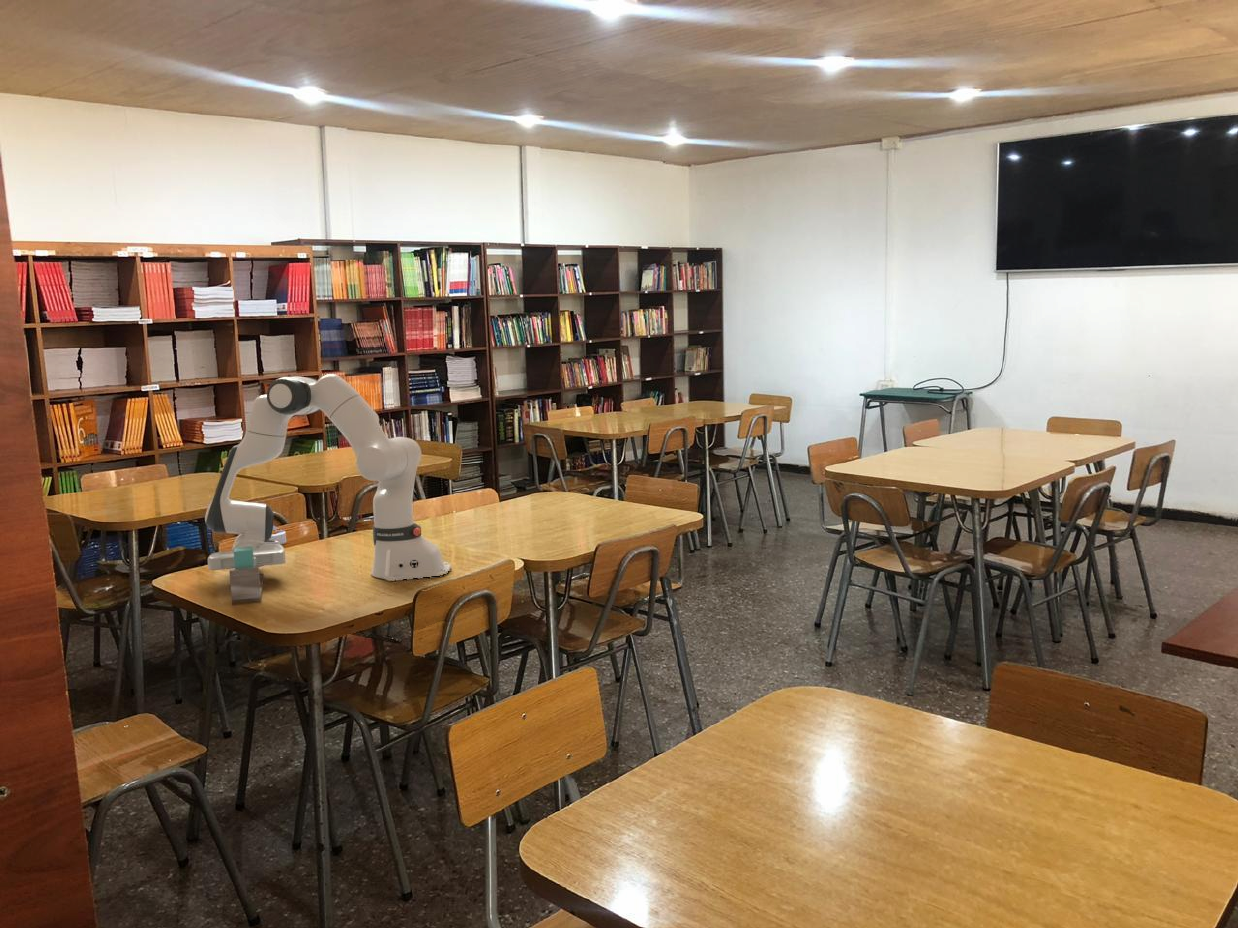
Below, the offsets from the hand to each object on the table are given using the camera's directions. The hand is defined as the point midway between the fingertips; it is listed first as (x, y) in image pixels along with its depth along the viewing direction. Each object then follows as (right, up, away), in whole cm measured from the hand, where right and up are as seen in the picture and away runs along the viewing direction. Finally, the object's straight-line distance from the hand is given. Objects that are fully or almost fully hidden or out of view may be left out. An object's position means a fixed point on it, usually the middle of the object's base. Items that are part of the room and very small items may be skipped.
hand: (246, 565), depth 258 cm
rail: (0, -7, +1) cm, 7 cm away
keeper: (+3, -7, -7) cm, 10 cm away
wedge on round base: (-16, +1, +60) cm, 62 cm away
